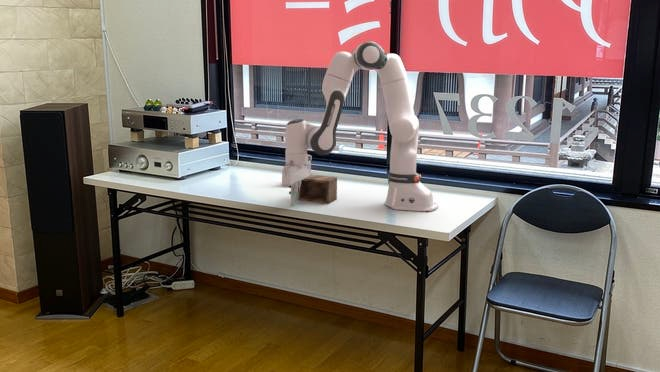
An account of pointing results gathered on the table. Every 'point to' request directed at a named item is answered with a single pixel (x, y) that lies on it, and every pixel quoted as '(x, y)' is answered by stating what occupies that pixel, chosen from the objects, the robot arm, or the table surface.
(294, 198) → the cabinet door
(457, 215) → the table surface
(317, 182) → the walnut cabinet
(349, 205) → the table surface
